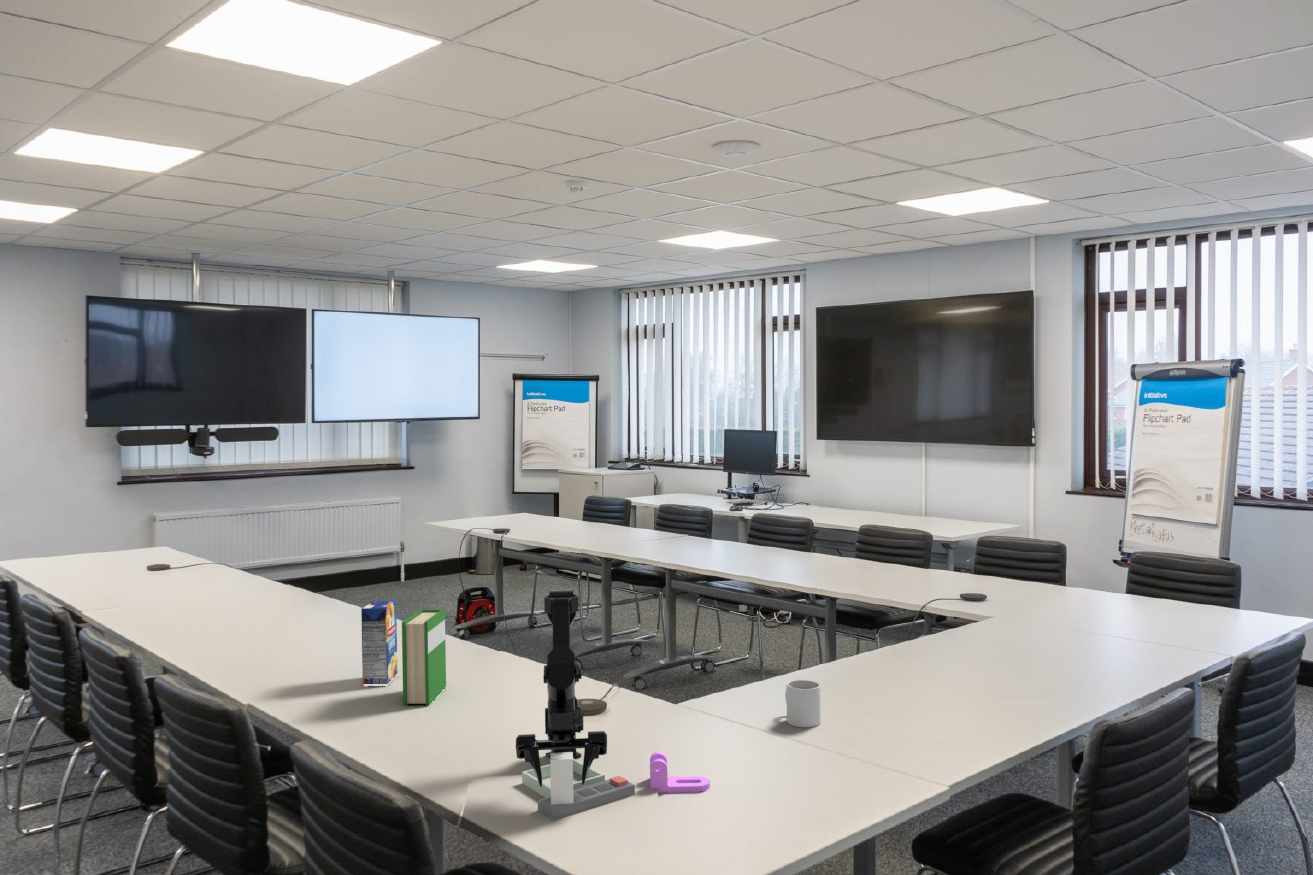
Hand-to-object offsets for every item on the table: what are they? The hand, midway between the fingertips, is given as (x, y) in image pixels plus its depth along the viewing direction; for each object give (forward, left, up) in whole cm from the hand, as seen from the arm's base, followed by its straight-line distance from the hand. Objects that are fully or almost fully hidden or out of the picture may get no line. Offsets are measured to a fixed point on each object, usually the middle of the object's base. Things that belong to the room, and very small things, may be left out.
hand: (562, 784), depth 185 cm
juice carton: (-121, +8, -7) cm, 122 cm away
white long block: (-1, +1, -6) cm, 6 cm away
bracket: (+3, +28, -7) cm, 29 cm away
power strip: (-1, +7, -7) cm, 10 cm away
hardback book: (-96, +12, -7) cm, 97 cm away
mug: (-11, +81, -7) cm, 82 cm away
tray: (-12, +8, -7) cm, 16 cm away
